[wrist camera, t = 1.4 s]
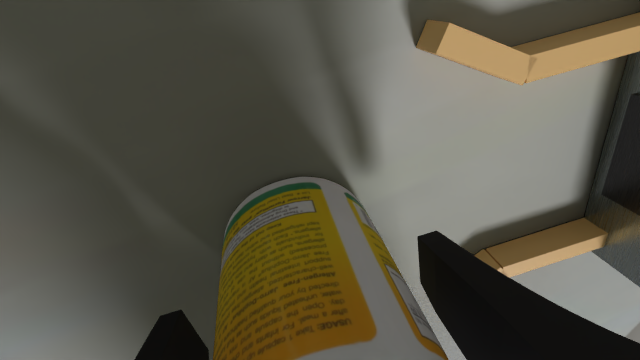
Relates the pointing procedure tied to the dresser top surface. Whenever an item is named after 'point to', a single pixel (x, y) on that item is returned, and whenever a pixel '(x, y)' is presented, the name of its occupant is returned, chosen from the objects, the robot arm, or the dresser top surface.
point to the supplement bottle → (313, 282)
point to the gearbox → (620, 180)
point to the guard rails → (527, 67)
